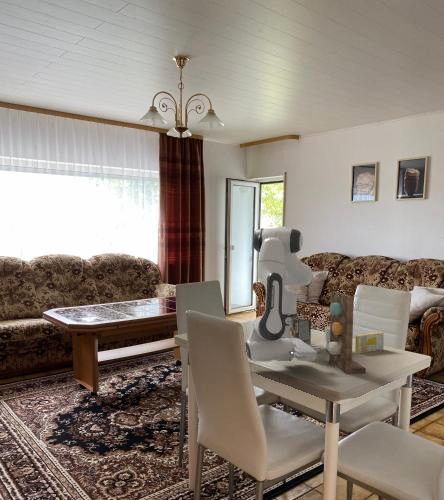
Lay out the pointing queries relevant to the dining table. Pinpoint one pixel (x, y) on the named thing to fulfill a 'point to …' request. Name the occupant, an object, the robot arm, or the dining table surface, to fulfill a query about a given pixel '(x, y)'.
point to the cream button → (335, 348)
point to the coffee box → (300, 329)
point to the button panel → (344, 335)
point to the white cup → (327, 337)
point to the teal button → (336, 308)
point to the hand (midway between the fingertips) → (318, 348)
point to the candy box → (369, 342)
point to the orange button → (337, 328)
